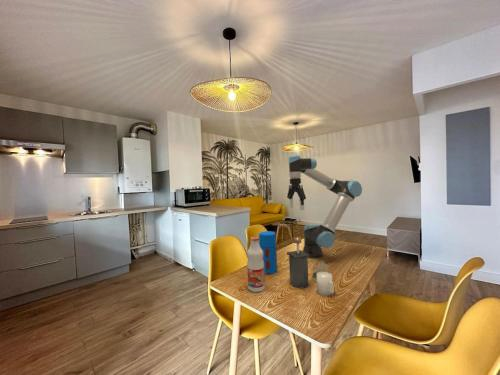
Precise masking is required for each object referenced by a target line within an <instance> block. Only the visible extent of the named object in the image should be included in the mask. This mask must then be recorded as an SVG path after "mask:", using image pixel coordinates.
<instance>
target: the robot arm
mask: <svg viewBox="0 0 500 375" xmlns="http://www.w3.org/2000/svg"><path fill="white" fill-rule="evenodd" d="M317 165H318V164H317V160H316V158H311V157H306V158H301V156H300V154H294V155H293V154H292V155H290V156H288V166H289V167H288V168H289V169H288V170H289V178H290V179H289V185H288V192H287V197H286V198H287V199H288V207H289V209H293V208H294V194H295V193H296V194H297V196H298V197H299V198H298V199H299V211H305V200H306V199H307V197H306V194H305V190H304V188H303V184H302V179H301V178H302V177H301V176H302V175H305V176H306V177H308V178H310V179H312V180H313V181H315V182H317V183H319V184H320V185H322V186H325V188H326V189H327V190H329V191H330V192H332V193H334V194H336V195H338V196H337V198H336V201H334V204H333V206H332V207H331V209H330V210H329V213H328V215H327V216H326V217H325V219H324V221H323V223H322V224H321V223H320V224H309V225H305V226H303V240H304V241H303V243H304V245H303V248H302V251H303V252H305V253H307V254H309V255H310V257H308V258H309V259H310V258H311V259H317V258H322V257H323V255H324V253H323V250H322V248H325V249H328V248H331V247H332V246H333V245H334V244H335V241H336V238H335V234H336V231H335V230H336V228H337V226H338V224H339V223H340V220H341V219H342V217H343V215H344V213H345V212H346V210H347V208H348V206H349V204H350V203H351V202H354V200H355V198H357V197H360V196H361V195H362V192H363V187H362V184H361V183H360V181H357V180H352V179H351V180H338V179H336V178H334V177H333V178H331V177H329V176H328V175H326V174H324V173H323V172H321V171H319V170H317ZM301 174H302V175H301Z"/></svg>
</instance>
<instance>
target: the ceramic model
mask: <svg viewBox="0 0 500 375" xmlns="http://www.w3.org/2000/svg"><path fill="white" fill-rule="evenodd" d="M318 272H328V273H330V270H329V267H328V266H327V265H326V263H325V262H324V261H323V260H320V261H319V262H318V263H317V265H316V266H315V268H314V270H312V275H311V280H312V281H313V282H315V283H317V273H318ZM330 274H331V273H330Z"/></svg>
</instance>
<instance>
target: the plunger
mask: <svg viewBox="0 0 500 375" xmlns="http://www.w3.org/2000/svg"><path fill="white" fill-rule="evenodd" d="M293 243H294V244H296V251H297V255H298V254H299V250H300V244H301V243H302V237H300V236H295V237H293Z"/></svg>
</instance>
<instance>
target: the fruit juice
mask: <svg viewBox="0 0 500 375" xmlns="http://www.w3.org/2000/svg"><path fill="white" fill-rule="evenodd" d="M249 238H250V239H249V241H250V245H249V247H248V250H247V251H246V257H247V261H246V266H247V270H246V271H247V288H248V290H249V291H250V292H254V293H260V292H263V291H264V290H265V288H266V280H265V279H266V276H265V275H266V274H265V273H264V261H263V250H262V249H261V248H260V245H259V236H251V237H249Z"/></svg>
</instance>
